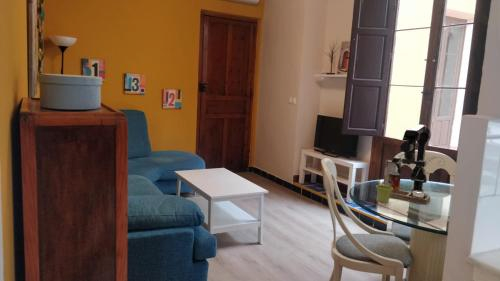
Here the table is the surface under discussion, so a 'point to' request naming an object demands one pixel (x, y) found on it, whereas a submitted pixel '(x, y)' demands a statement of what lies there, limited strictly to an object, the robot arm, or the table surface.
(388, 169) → the coffee box
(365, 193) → the table surface
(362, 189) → the table surface
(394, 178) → the soda can
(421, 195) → the tin
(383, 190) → the plant pot
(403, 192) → the rack
